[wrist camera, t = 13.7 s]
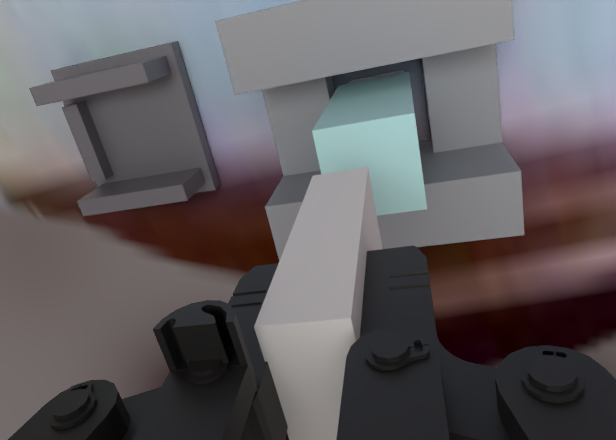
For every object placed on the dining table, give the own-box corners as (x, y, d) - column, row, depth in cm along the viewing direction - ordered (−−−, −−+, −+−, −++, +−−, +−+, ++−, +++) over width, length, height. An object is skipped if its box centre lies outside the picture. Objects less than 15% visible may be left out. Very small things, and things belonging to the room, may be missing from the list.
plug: (355, 136, 30) (331, 221, 19) (344, 75, 29) (311, 130, 18) (416, 126, 29) (427, 209, 18) (408, 63, 28) (414, 112, 17)
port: (304, 216, 33) (281, 270, 26) (256, 13, 28) (215, 21, 22) (498, 190, 30) (524, 244, 24) (482, -41, 25) (509, -49, 19)
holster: (112, 201, 35) (80, 226, 31) (60, 68, 31) (16, 79, 28) (220, 184, 33) (198, 208, 29) (177, 41, 29) (146, 48, 26)
